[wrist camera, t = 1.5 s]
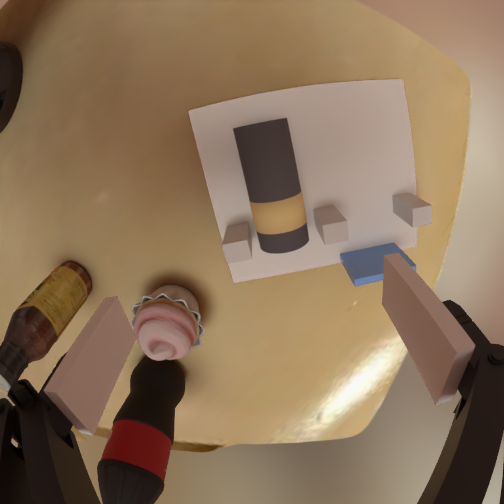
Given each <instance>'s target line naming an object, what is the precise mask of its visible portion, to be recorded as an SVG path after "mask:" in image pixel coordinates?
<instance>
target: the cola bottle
mask: <svg viewBox="0 0 504 504" xmlns="http://www.w3.org/2000/svg"><path fill="white" fill-rule="evenodd" d="M184 392H185V378H184V375H183V372H182V371H181V369H180V368H179V367H178V366H177V365H176V364H175V363H174V362H172V361H170V360H167V359H165V360H160V361H157V360H153V359H151V358H149V357H148V358H145V359H143V360H142V361H140V362H139V363H138V365H137V366H136V367H135V368H134V370H133V372H132V375H131V379H130V394H129V395H128V397H127V399H126V400H125V402H124V404H123V405H122V407H121V408H120V410H119V412H118V413H117V415H116V417H115V419H114V421H113V427H112V429H111V432H110V435H109V438H108V441H107V444H106V447H105V449H104V452H103V455H102V458H101V461H99V463H98V466H97V473H98V482H99V488H100V493H101V497H102V502H103V504H154V503H155V501H156V500H157V499H158V497H159V496H160V495H161V493H162V492H163V490H164V479H165V475H166V470H167V464H168V460H169V455H170V450H171V446H172V444H173V440H174V418H175V408H176V406H177V405H178V403H179V402H180V401H181V399H182V397H183V395H184Z"/></svg>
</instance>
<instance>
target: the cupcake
mask: <svg viewBox="0 0 504 504" xmlns="http://www.w3.org/2000/svg"><path fill="white" fill-rule="evenodd" d="M131 309H132V312H133V314H134V317H133V318H132V319H131V321H130V323H131V324H132V326H133V327H134V332H135V335H136V337H137V338H136V339H137V341H138V343H139V345H140V347H141V349H142V350H143V352H144V353H145V354H146V355H147V356H148V357H149V358H151V359H153V360H157V361H160V360H165V359H167V360H173V359H180V358H182V357H184V356H186V355H187V354H188V353H189V352H190V351H191V348H192V347H199V346H201V345H202V343H201V339H200V337H201V336H202V335H203V334H204V333H205V329H204V327H203V325H202V322H201V319H200V313H199V305H198V302H197V300H196V298H195V297H194V296H193V294H192V293H191V292H190V291H188V290H187V289H185V288H183V287H181V286H178V285H165V286H162V287H160V288H158V289H156V290H155V291H154V292H153V293H152V294H149V295H145V296H143V297H142V299H141V302H140V303H138V304H136V305H134V306H132V307H131Z"/></svg>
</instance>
